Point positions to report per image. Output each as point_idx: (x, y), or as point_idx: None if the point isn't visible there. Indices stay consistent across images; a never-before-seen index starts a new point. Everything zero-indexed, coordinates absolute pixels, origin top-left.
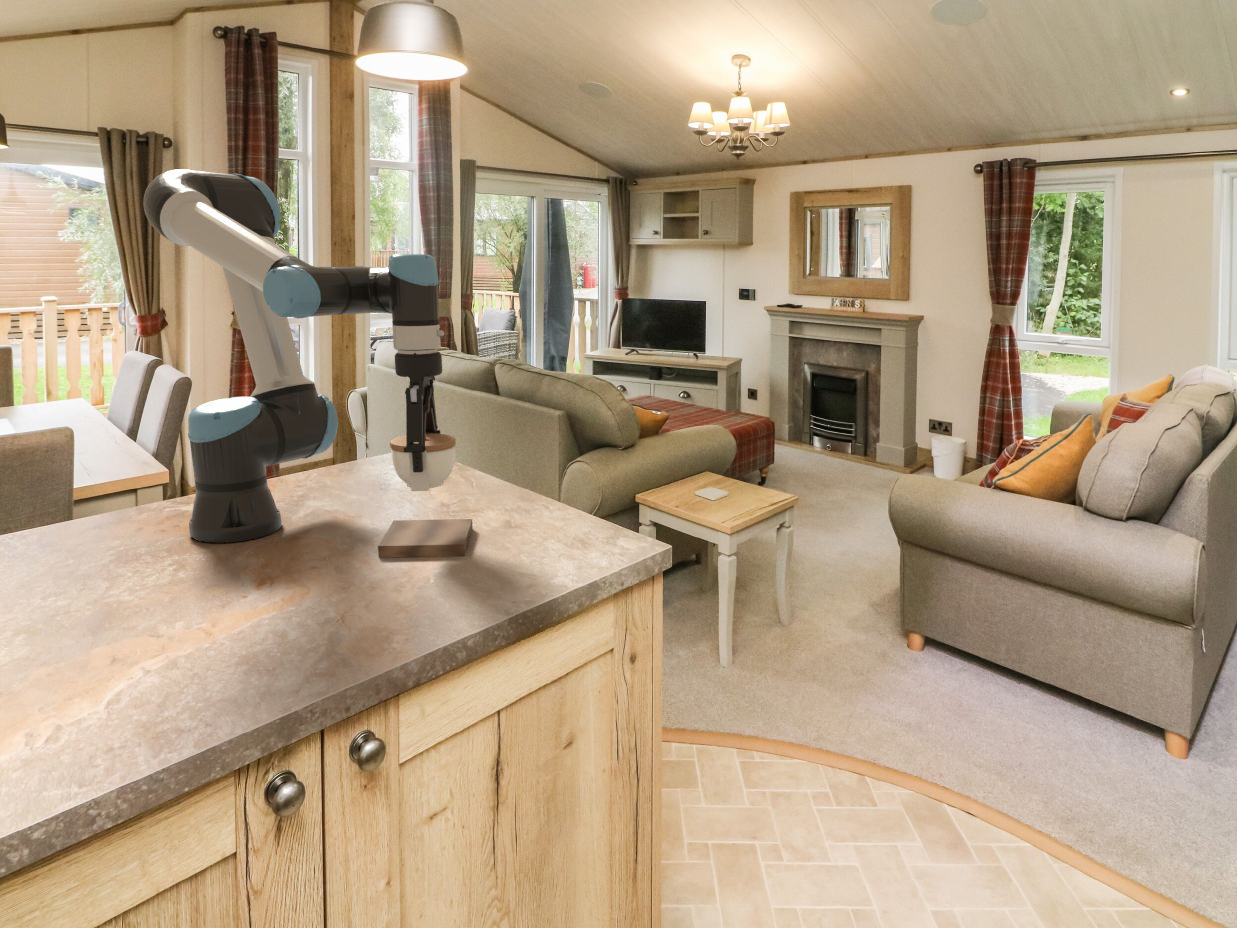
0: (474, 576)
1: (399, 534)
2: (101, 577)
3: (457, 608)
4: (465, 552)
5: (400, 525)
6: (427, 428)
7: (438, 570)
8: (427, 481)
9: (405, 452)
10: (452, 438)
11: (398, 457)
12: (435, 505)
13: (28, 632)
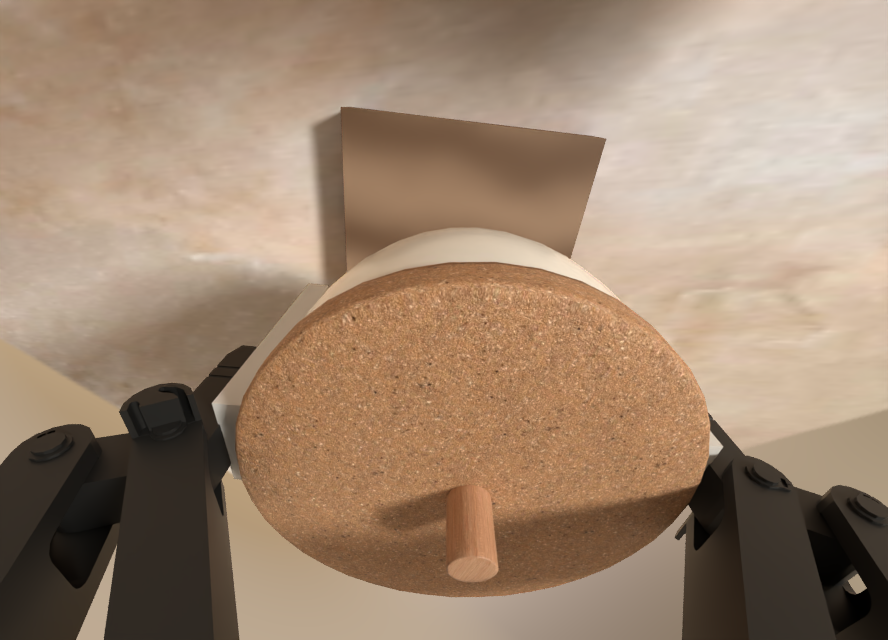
0: (235, 334)
1: (449, 170)
2: None
3: (67, 304)
4: None
5: (540, 167)
6: (706, 550)
7: (262, 268)
8: None
9: (167, 389)
10: (456, 594)
11: (317, 302)
12: (805, 250)
13: None
